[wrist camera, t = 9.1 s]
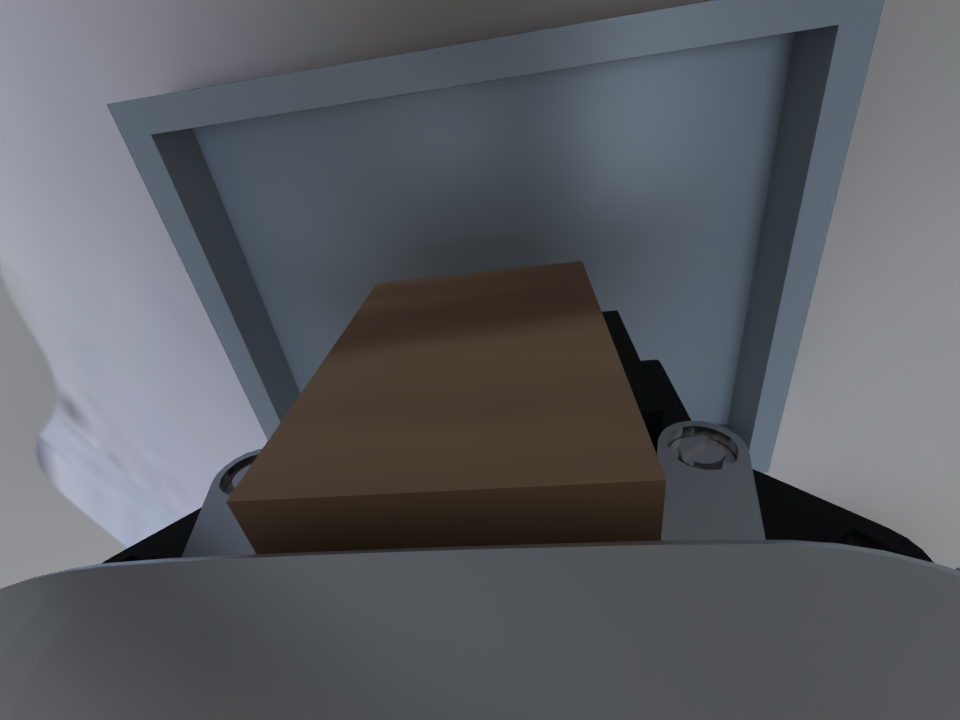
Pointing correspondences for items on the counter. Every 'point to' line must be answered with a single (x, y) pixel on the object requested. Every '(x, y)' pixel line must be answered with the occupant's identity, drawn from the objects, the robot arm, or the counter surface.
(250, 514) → the walnut block
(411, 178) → the tray
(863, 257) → the counter surface
